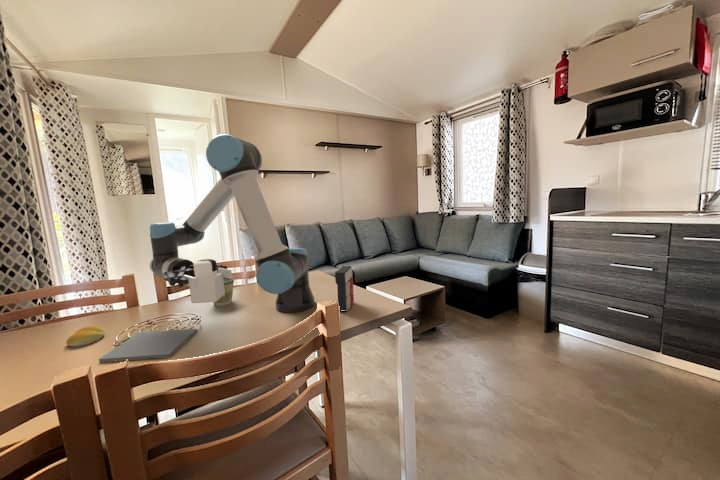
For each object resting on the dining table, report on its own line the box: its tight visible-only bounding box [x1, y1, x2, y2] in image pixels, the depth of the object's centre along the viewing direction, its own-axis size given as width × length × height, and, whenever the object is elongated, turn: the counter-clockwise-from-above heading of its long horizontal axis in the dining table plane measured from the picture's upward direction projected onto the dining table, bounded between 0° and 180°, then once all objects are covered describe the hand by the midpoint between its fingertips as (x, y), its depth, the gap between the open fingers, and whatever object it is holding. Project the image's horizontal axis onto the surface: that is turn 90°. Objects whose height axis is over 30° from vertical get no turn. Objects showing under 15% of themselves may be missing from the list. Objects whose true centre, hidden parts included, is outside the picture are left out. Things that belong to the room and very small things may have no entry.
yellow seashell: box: [66, 325, 106, 348], centre depth 92 cm, size 8×9×4 cm
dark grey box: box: [334, 265, 355, 311], centre depth 112 cm, size 11×4×15 cm, turn 168°
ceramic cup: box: [213, 276, 235, 307], centre depth 123 cm, size 13×10×10 cm
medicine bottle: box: [188, 258, 225, 304], centre depth 88 cm, size 7×7×12 cm
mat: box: [98, 328, 198, 363], centre depth 87 cm, size 18×16×1 cm
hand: (213, 278), depth 86 cm, fingers closed on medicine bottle, 10 cm apart
